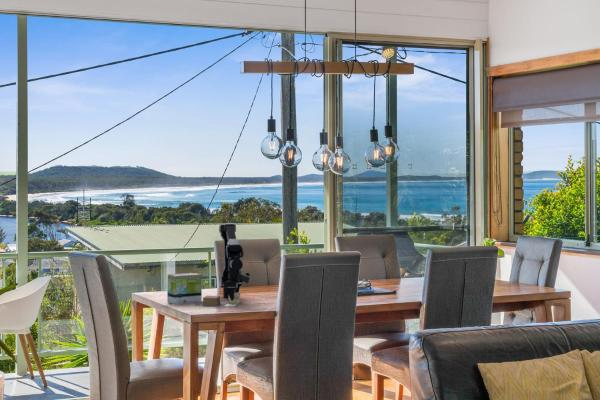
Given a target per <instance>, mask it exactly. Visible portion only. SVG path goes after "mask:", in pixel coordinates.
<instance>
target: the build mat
mask: <svg viewBox="0 0 600 400" xmlns="http://www.w3.org/2000/svg"><path fill="white" fill-rule="evenodd" d="M227 304H229V302H228V301H220V304H219V305H218V306H216V307H224V308H225V307H226V308H227V307H228V308H229V307H230V308H232V307H233V308H237V307H238V306H239V307H240V306H241V305H242V304H244V301H240V303H239V304H237V305H236V306H225V305H227ZM193 307H204V306H203V300H201V301H199V303H198V302H197V303H196V304H195V305H193Z"/></svg>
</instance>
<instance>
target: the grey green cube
mask: <svg viewBox="0 0 600 400" xmlns="http://www.w3.org/2000/svg"><path fill="white" fill-rule="evenodd" d="M227 299H228V300H227V302H229V304H239V303H240V302H241V292H239V293H238V292H235V293H234V300H233V301H232V300H231V299H230V297H229V294H228V298H227Z"/></svg>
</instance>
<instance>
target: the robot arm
mask: <svg viewBox="0 0 600 400" xmlns="http://www.w3.org/2000/svg"><path fill="white" fill-rule="evenodd" d="M236 232H237V225H236V224H235V223H233V222H227V223H221V224H220V225H219V226H218V233H220V234H219V235H220V238H221V239H222V240H223V263H224V267H223V270H222V271H221V275H220V277H219V278H220V280H219V287H220V288H222V297H221V299H228V294H229V297H230V299H231V300H232V301H233V300H234V293H235V292H238V293H240V289H241V287H242V286H243V285H244V283H245V284H250V282H251V280H252V276H251V273H250V272H246V273H242V268H243V266H244V265H243V261H242V260H241V258H243V257H244V249H243V246H242V245H241V243H240V241H239V240H238V239H237V236H236Z"/></svg>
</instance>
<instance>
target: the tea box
mask: <svg viewBox="0 0 600 400" xmlns="http://www.w3.org/2000/svg"><path fill="white" fill-rule="evenodd" d="M202 276H203V275H202V274H201V273H195V272H189V273H187V272H183V273H171V274H170V273H169V274H167V293H166V294H167V296H166V297H167V298H166V299H167V303H168V304H172V305H174V304H177V305H178V304H187V303H196V302H197V303H198V302H202V299H203V297H202V292H203V291H202V289H203V288H202V286H203V284H202V283H203V282H202V281H203V280H202V279H203V278H202Z"/></svg>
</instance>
